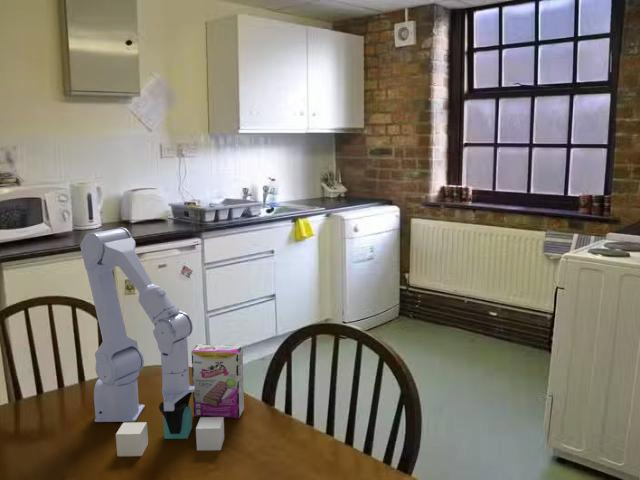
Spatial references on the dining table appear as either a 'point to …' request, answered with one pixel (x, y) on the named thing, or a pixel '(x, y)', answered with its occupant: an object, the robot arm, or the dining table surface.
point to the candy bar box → (218, 381)
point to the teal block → (184, 429)
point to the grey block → (210, 433)
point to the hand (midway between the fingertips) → (178, 426)
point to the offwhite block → (132, 439)
